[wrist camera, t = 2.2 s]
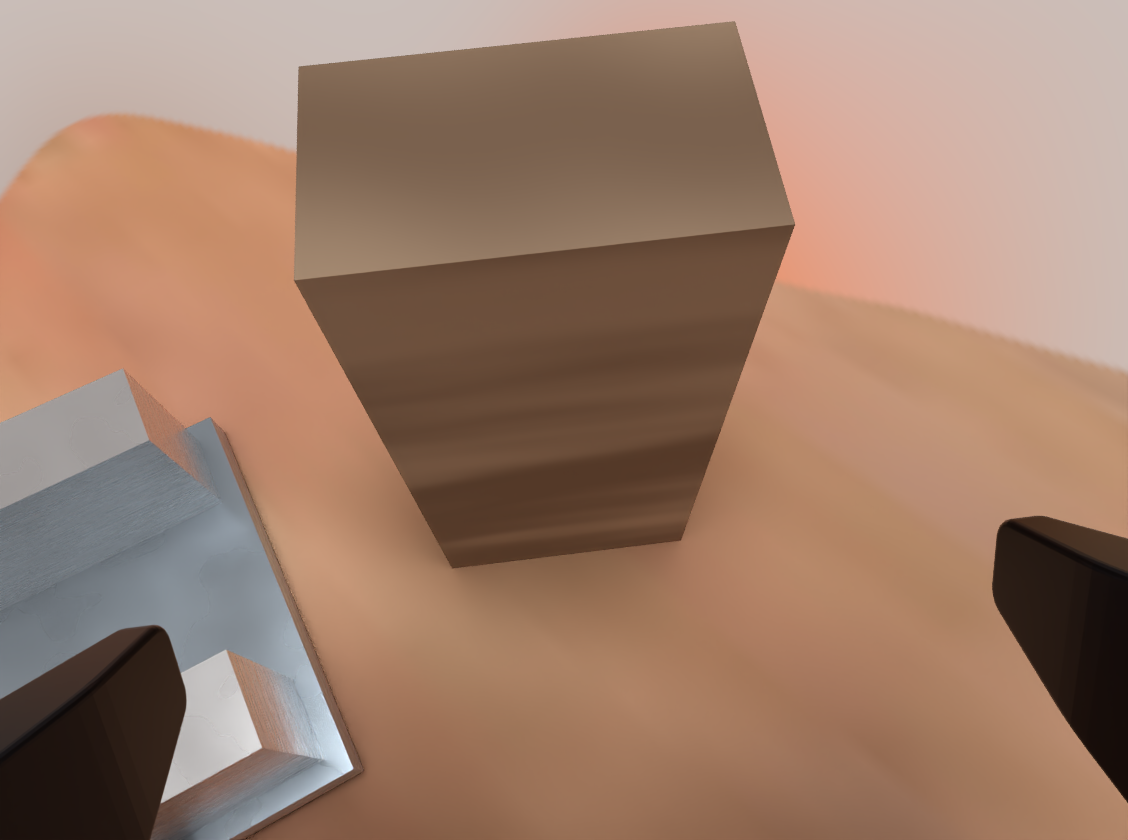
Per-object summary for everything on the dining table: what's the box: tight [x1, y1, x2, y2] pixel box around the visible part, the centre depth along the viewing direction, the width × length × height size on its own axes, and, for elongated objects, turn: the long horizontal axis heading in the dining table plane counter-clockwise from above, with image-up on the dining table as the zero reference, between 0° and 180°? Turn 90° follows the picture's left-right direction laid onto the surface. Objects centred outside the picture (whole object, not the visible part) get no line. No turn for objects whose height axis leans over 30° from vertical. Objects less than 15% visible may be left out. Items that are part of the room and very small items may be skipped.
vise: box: [0, 369, 364, 840], centre depth 18 cm, size 14×9×5 cm, turn 29°
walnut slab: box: [294, 22, 795, 568], centre depth 17 cm, size 4×6×13 cm, turn 97°
